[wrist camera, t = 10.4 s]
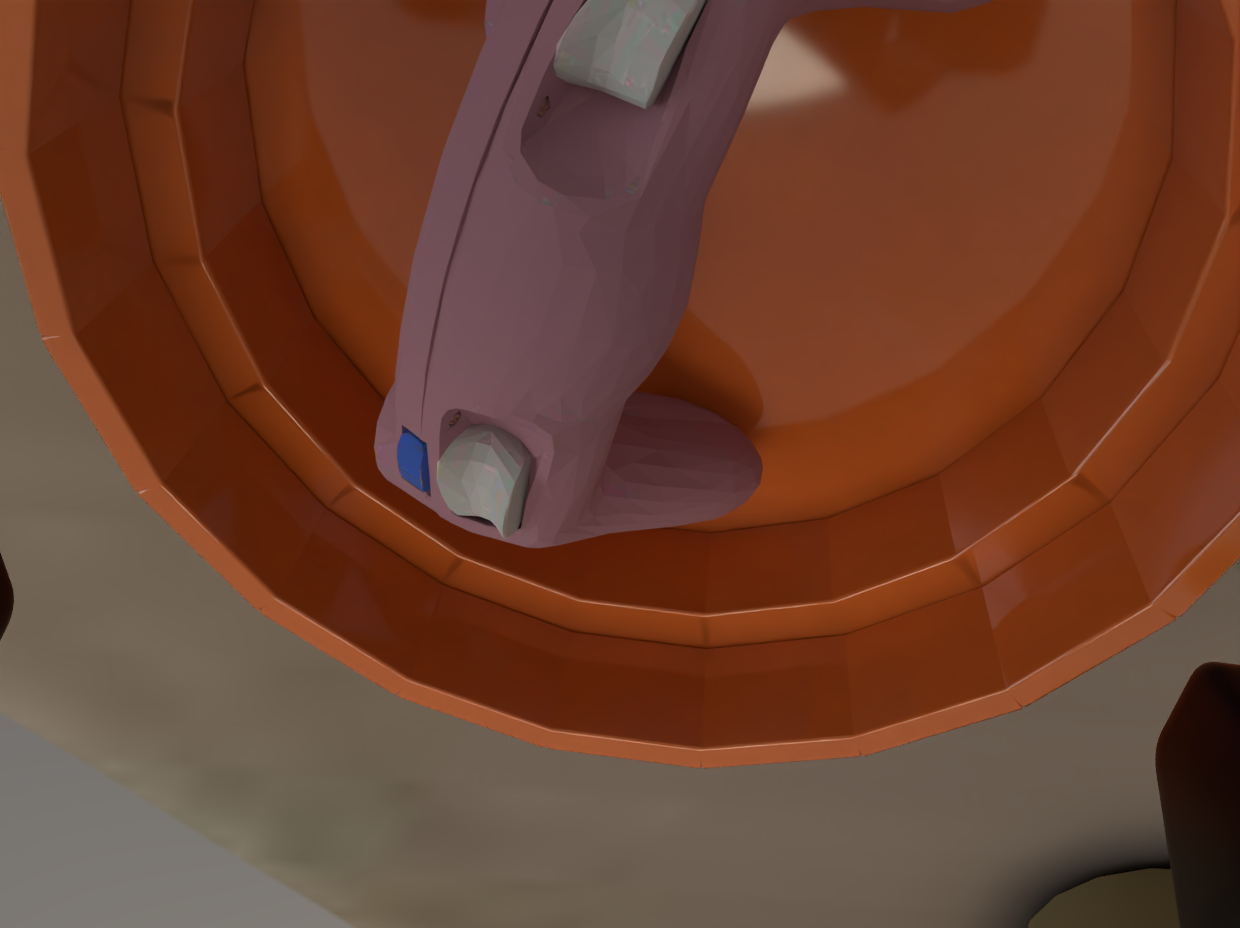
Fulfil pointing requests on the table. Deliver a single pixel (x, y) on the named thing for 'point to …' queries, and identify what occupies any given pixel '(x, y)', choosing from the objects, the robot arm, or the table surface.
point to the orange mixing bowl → (677, 356)
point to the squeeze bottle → (1114, 903)
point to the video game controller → (577, 270)
